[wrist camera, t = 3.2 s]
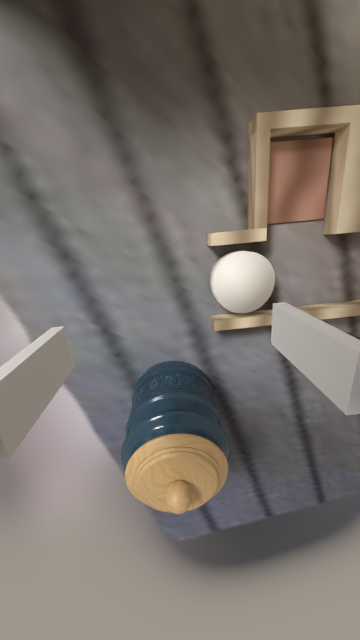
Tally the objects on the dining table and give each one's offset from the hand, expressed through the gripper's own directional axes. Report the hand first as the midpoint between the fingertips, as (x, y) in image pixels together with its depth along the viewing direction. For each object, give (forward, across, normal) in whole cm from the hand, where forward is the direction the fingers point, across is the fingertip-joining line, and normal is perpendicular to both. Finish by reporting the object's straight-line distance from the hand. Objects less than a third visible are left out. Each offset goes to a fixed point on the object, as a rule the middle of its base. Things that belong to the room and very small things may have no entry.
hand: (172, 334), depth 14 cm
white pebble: (+19, +10, -1) cm, 21 cm away
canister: (+19, -1, -18) cm, 27 cm away
